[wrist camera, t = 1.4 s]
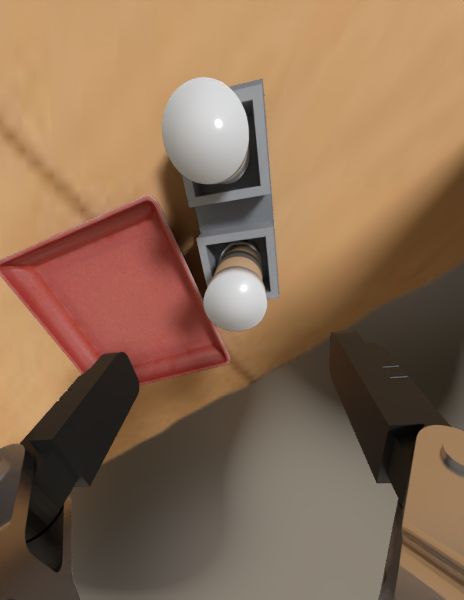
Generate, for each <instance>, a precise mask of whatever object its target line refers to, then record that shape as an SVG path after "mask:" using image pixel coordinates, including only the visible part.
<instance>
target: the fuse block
mask: <svg viewBox="0 0 464 600" xmlns="http://www.w3.org/2000/svg"><path fill="white" fill-rule="evenodd" d="M229 88H230V89H231V90H232V91H233V92H234V93H235V94H236V95H237V97H238V98H239V100H240V101H241V103H242V105H243V108H244V110H245V113H246V116H247V121H248V128H249V154H250V158H249V164H248V168H247V170H246V172H245V173H244V175H243V176H242V177H241V178H240V179H239V180H237V181H236V182H233V183H230V184H220V183H218V184H201V183H197V182H194V181H192V180H190V179H188V178H186V177H185V176H183V175H182V178H183V183H184V187H185V192H186V196H187V200H188V205H189V208H191V207H195V211H196V215H197V220H198V225H199V229H200V235H199V236H198V237H197V238H196V240H197V244H198V249H199V253H200V258H201V262H202V266H203V271H204V275H205V280H206V284H207V288H208V285H209V283H210V281H211V279H212V277H213V276H214V273H215V270H216V268H217V265H218V263H219V260H220V256H221V254H222V251H223V249H224V247H225V246H226V245H227V244H228V243H229V242H231V241H237V240H244V239H246V240H249V241H251V242H253V243H254V244H255V245H256V246H257V248H258V249H259V252H260V256H261V268H262V275H263V283H264V286H265V291H266V298H267V299H273V298H279V283H278V270H277V257H276V244H275V232H274V219H273V206H272V193H271V180H270V167H269V154H268V141H267V128H266V115H265V102H264V89H263V79H260V80H256V81H251V82H247V83H243V84H239V85H235V86H231V87H229Z"/></svg>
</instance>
